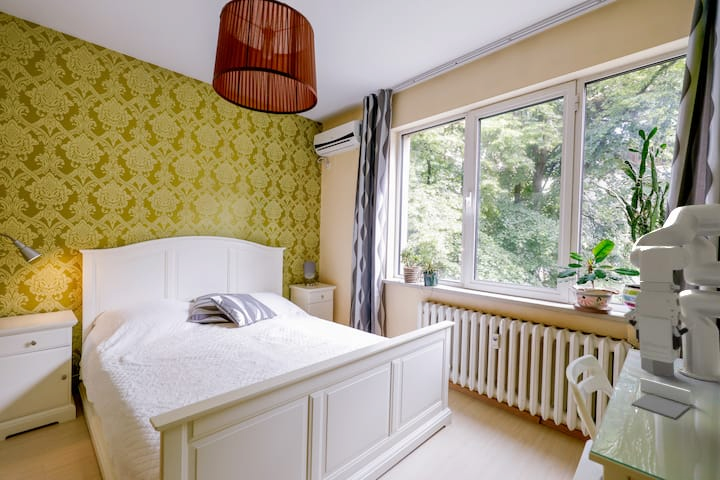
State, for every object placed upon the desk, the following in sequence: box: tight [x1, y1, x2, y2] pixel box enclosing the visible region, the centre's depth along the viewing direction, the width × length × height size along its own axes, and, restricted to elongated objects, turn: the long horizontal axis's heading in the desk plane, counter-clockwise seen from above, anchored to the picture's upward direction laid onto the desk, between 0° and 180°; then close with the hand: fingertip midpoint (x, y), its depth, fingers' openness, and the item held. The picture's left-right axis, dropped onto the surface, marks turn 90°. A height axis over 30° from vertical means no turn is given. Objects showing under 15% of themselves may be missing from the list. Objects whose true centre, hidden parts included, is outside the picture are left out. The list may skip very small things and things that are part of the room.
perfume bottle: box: [640, 357, 675, 377], centre depth 125 cm, size 7×7×18 cm
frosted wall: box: [639, 377, 692, 406], centre depth 105 cm, size 1×12×4 cm, turn 31°
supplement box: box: [637, 316, 678, 363], centre depth 99 cm, size 7×7×13 cm
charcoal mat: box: [631, 393, 690, 420], centre depth 99 cm, size 12×10×1 cm
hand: (658, 345), depth 99 cm, fingers closed on supplement box, 7 cm apart
